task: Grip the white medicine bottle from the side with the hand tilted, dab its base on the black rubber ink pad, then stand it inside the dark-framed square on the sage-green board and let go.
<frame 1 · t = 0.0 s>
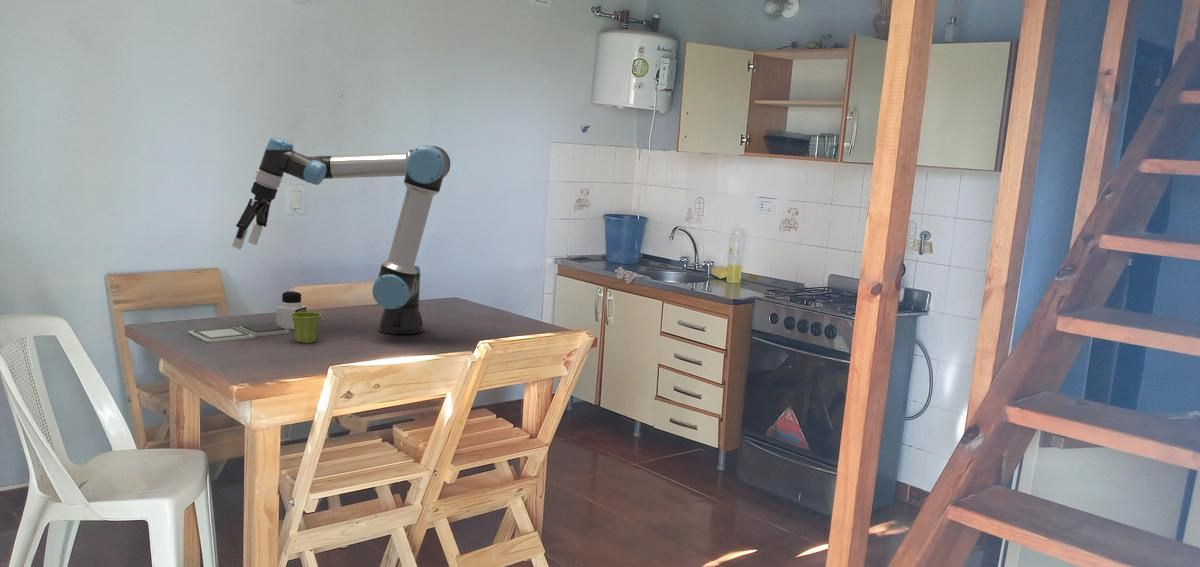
hand: (244, 245, 299), 28 cm above the table, tool tilted 20°, fingers open, 13 cm apart
plant pot: (305, 341, 293), on the table
print board: (221, 335, 293), on the table
ink pad: (263, 331, 302), on the table
medicine bottle: (291, 327, 312), on the table
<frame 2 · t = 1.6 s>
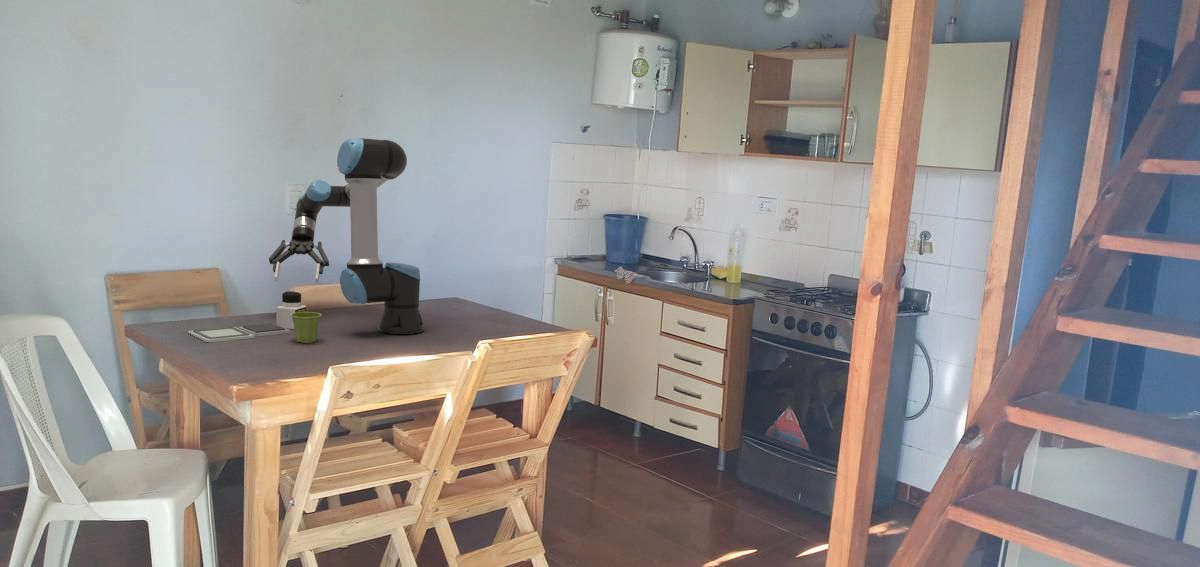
hand: (296, 279, 320), 14 cm above the table, tool tilted 45°, fingers open, 13 cm apart
nothing on the table moved.
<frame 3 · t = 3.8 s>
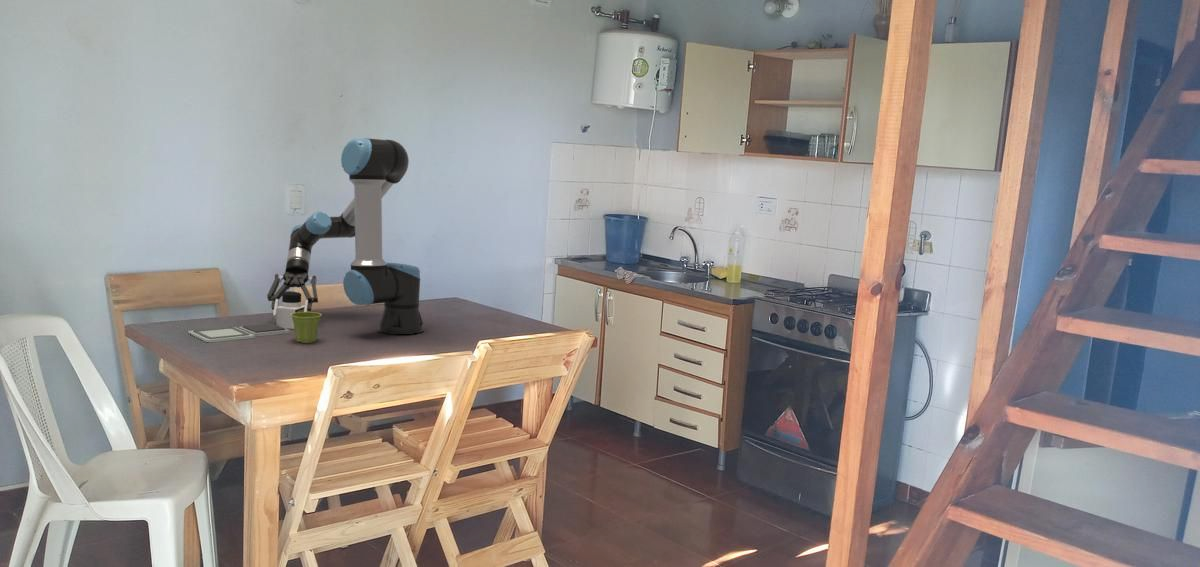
hand: (289, 317, 309), 4 cm above the table, tool tilted 45°, fingers closed on medicine bottle, 9 cm apart
medicine bottle: (291, 327, 312), on the table, touching gripper
everything else where it was.
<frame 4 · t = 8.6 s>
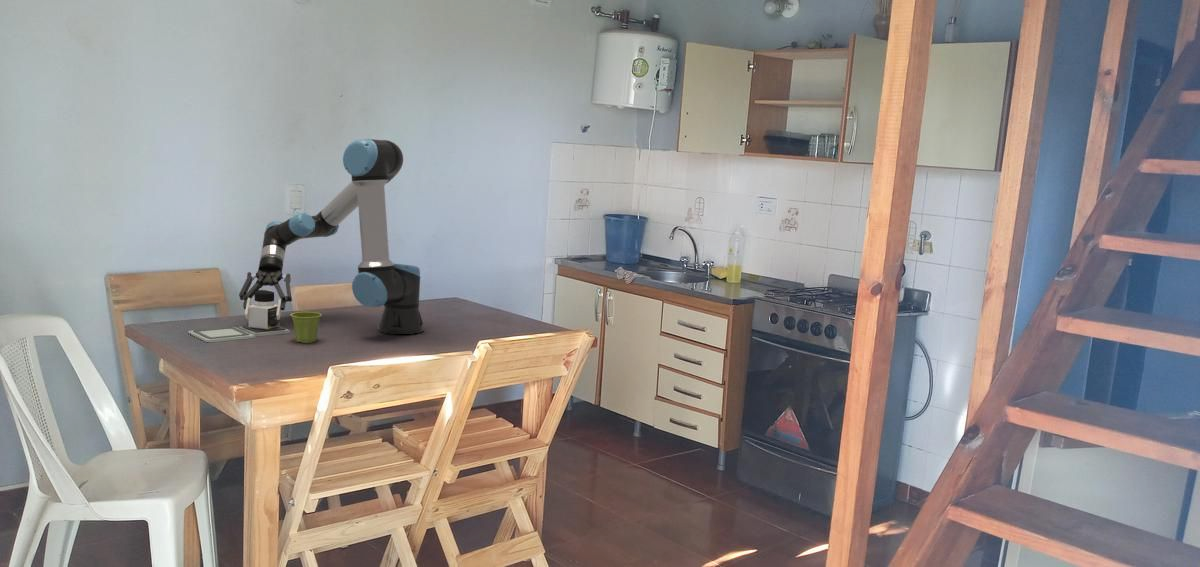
hand: (262, 317, 299), 5 cm above the table, tool tilted 45°, fingers closed on medicine bottle, 9 cm apart
medicine bottle: (264, 327, 302), point 1 cm above the table, touching gripper
everything else where it was.
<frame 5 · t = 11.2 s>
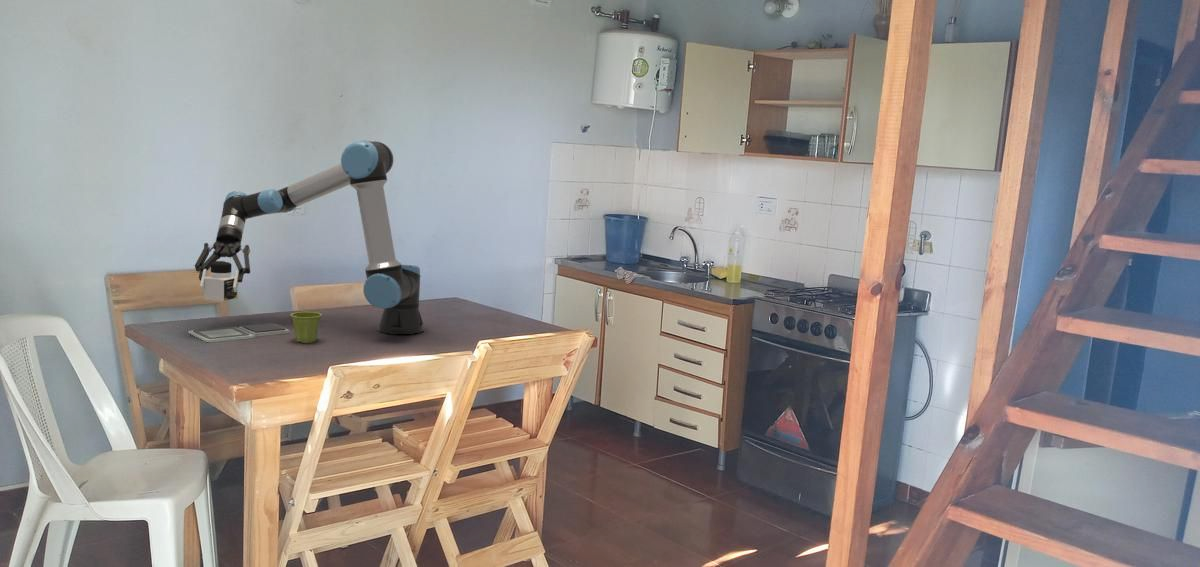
hand: (218, 288, 287), 16 cm above the table, tool tilted 45°, fingers closed on medicine bottle, 9 cm apart
medicine bottle: (220, 299, 291), point 12 cm above the table, touching gripper
everything else where it was.
when the fingers open (6 cm above the table, at t = 13.3 s): medicine bottle drops 1 cm, resting on print board.
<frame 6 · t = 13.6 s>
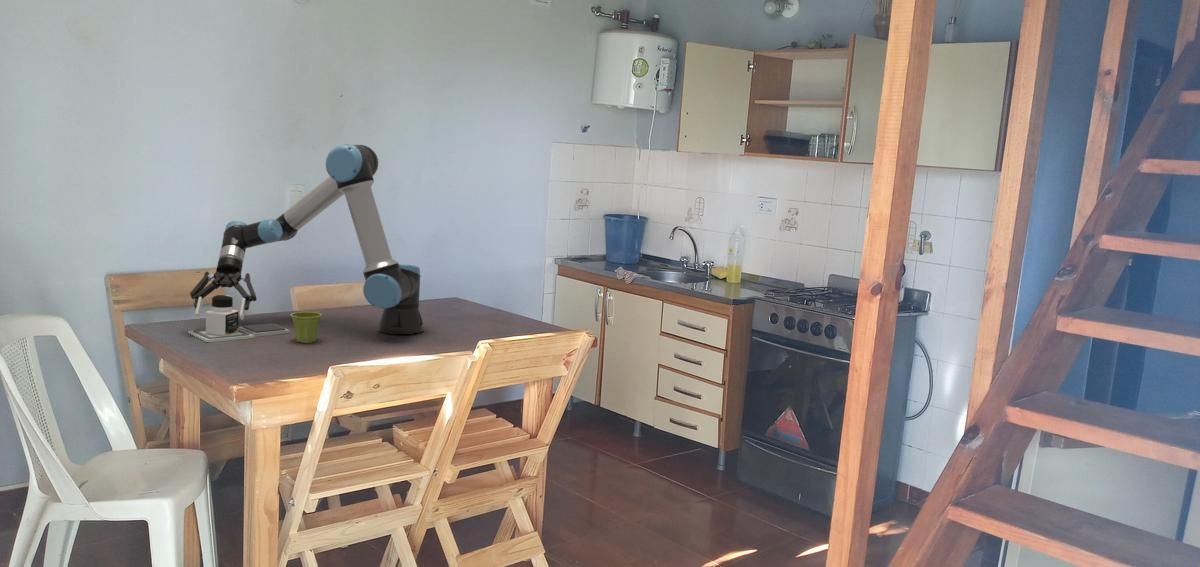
hand: (219, 316, 289), 7 cm above the table, tool tilted 45°, fingers open, 12 cm apart
medicine bottle: (222, 333, 293), point 1 cm above the table, touching print board
everything else where it was.
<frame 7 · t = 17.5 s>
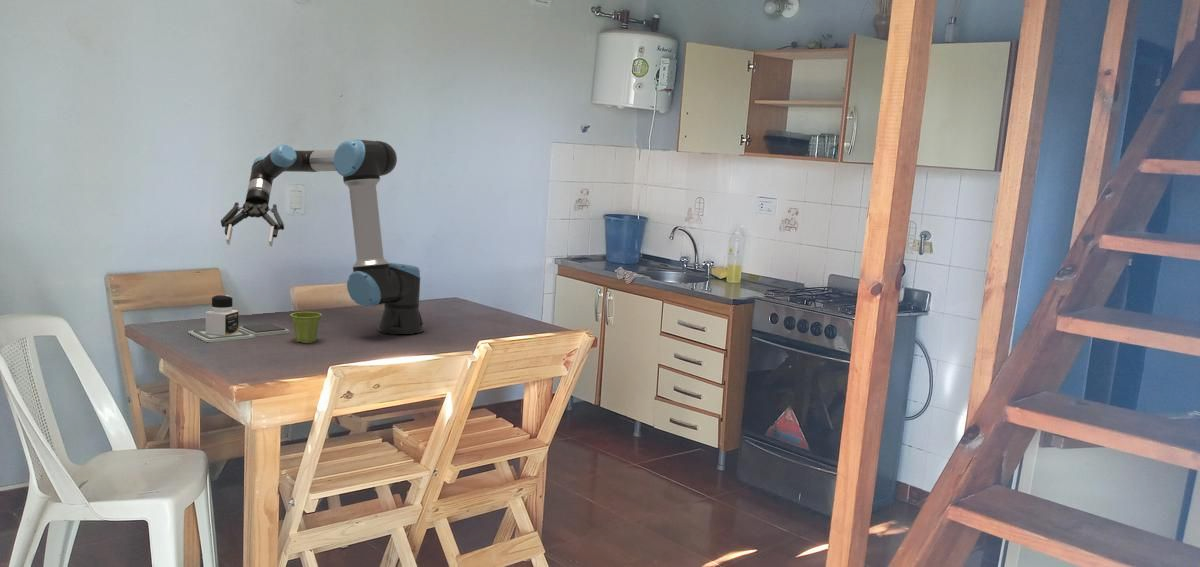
hand: (249, 242, 308), 28 cm above the table, tool tilted 45°, fingers open, 13 cm apart
nothing on the table moved.
at the end: medicine bottle inside the target area on the print board (0.3 cm from its centre), point 0.6 cm above the print board's base; medicine bottle tilted 0°; the gripper is holding nothing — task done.
